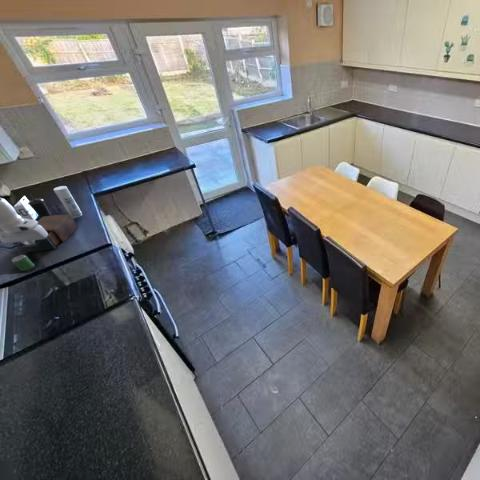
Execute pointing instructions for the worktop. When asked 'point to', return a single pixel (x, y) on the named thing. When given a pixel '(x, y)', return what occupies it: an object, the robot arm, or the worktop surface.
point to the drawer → (43, 243)
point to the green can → (23, 263)
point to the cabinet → (59, 225)
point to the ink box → (25, 209)
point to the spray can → (68, 201)
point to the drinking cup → (39, 207)
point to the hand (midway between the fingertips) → (32, 246)
